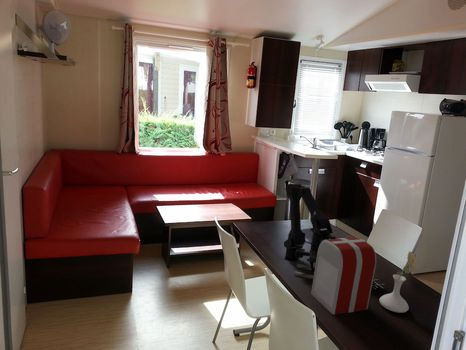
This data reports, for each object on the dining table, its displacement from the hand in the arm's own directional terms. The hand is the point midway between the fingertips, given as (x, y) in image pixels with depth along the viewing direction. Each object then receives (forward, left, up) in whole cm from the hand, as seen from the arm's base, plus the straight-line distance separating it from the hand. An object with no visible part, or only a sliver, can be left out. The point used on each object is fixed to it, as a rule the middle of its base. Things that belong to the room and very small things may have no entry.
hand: (312, 272), depth 177 cm
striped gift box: (+13, -19, -1) cm, 23 cm away
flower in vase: (+35, -13, -1) cm, 38 cm away
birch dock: (+3, 0, -1) cm, 3 cm away
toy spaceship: (-3, +51, -2) cm, 51 cm away
